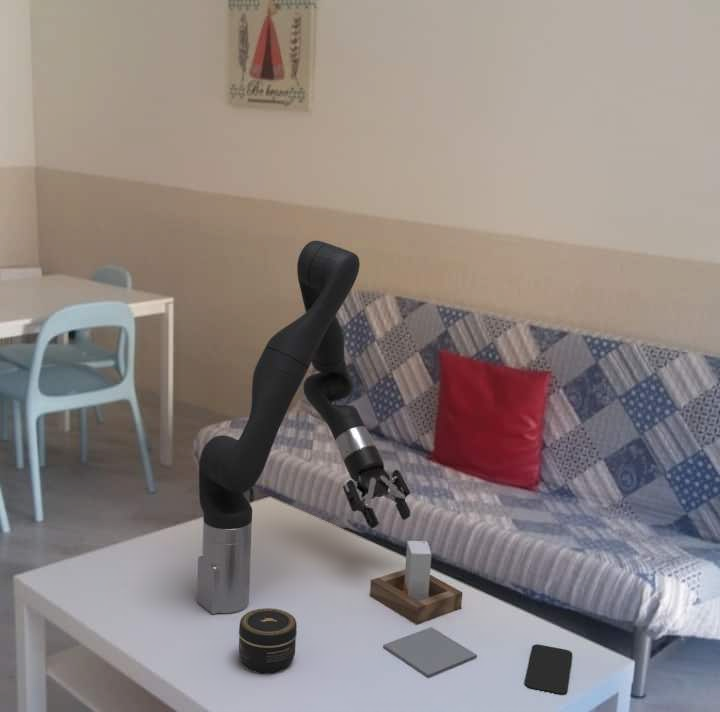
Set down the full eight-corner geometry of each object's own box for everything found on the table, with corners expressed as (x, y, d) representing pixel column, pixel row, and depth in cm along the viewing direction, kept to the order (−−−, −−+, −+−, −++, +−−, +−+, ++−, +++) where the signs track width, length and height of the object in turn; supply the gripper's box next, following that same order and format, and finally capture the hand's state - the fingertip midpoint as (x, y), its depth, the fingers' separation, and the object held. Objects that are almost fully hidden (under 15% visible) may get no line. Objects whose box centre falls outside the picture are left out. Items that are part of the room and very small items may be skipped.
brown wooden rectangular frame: (416, 624, 185) (417, 607, 184) (369, 595, 195) (370, 579, 194) (461, 608, 192) (462, 592, 191) (413, 581, 203) (414, 566, 202)
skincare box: (402, 595, 196) (406, 540, 194) (423, 595, 197) (427, 540, 194) (406, 609, 191) (410, 553, 188) (427, 609, 191) (432, 553, 188)
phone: (523, 685, 165) (532, 643, 180) (522, 690, 166) (532, 647, 180) (567, 694, 164) (573, 650, 178) (566, 698, 164) (572, 654, 178)
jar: (228, 653, 171) (230, 613, 169) (279, 641, 176) (281, 602, 174) (252, 681, 162) (254, 640, 161) (305, 668, 167) (307, 627, 166)
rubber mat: (428, 677, 167) (428, 674, 166) (383, 647, 176) (383, 644, 175) (476, 657, 174) (477, 654, 174) (431, 629, 183) (431, 626, 183)
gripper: (341, 449, 196) (374, 521, 190) (393, 439, 205) (426, 507, 199) (324, 467, 201) (355, 537, 195) (376, 455, 210) (407, 522, 204)
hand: (391, 522), depth 197 cm, fingers open, 8 cm apart
